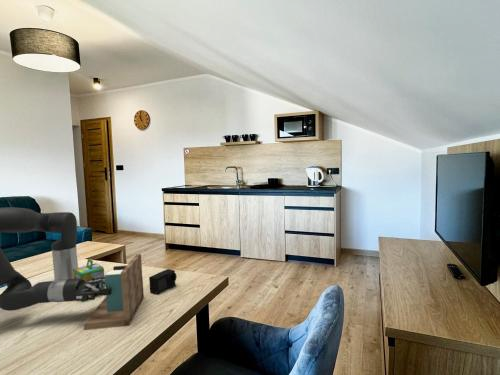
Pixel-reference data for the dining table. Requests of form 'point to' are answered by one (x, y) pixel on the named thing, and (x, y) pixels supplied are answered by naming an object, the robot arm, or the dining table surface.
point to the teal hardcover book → (114, 290)
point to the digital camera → (162, 281)
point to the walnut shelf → (130, 295)
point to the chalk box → (89, 272)
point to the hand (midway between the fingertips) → (115, 286)
